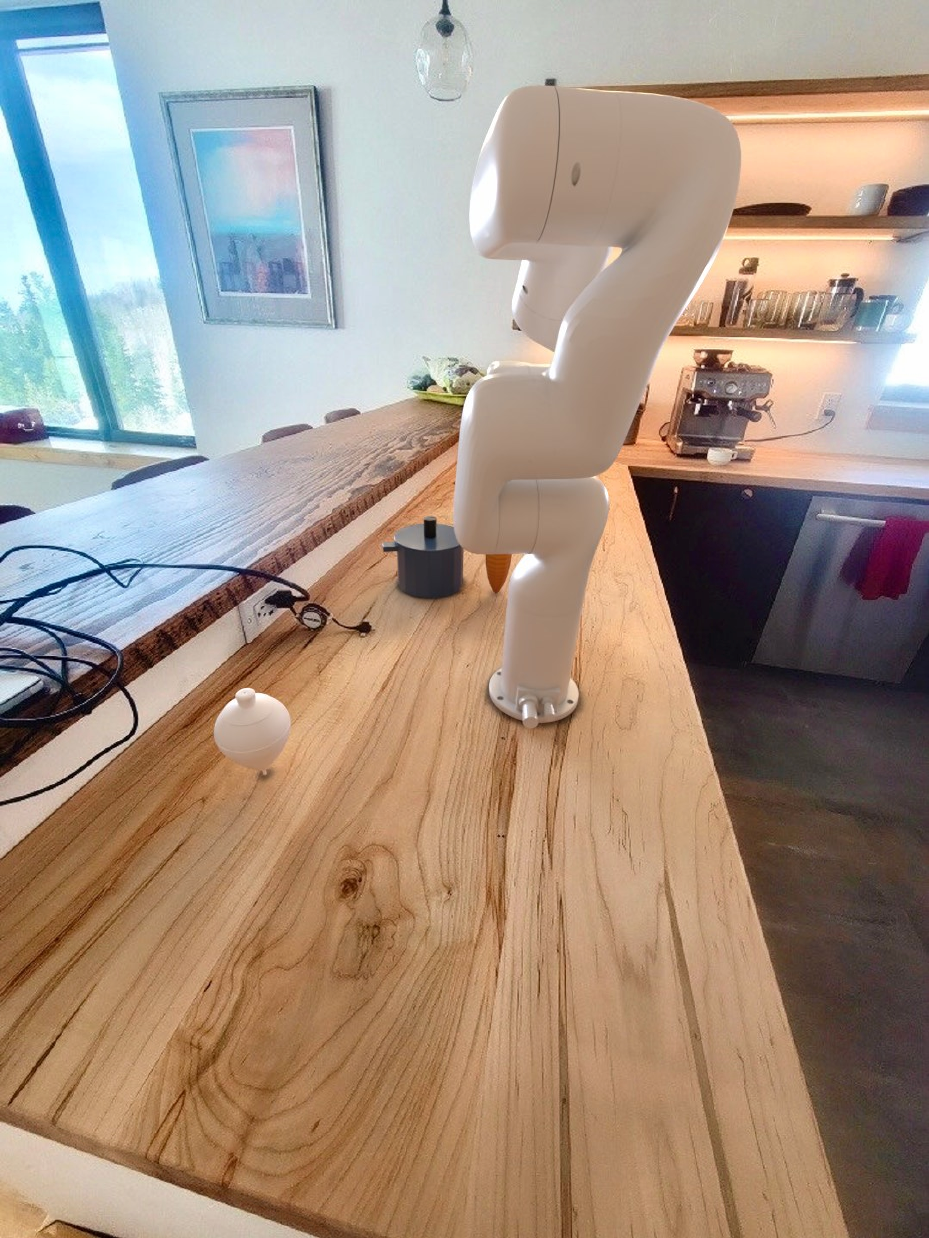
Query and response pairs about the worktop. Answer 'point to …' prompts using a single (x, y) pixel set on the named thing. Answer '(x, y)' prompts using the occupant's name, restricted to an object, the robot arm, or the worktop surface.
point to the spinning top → (252, 729)
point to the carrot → (497, 570)
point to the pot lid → (427, 537)
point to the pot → (428, 571)
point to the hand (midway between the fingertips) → (499, 546)
